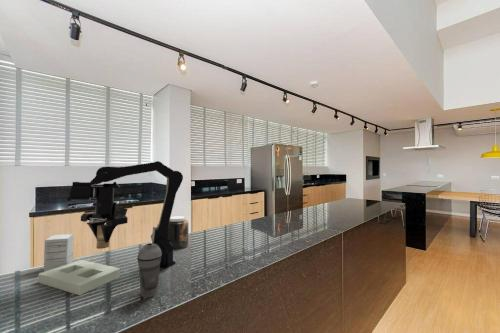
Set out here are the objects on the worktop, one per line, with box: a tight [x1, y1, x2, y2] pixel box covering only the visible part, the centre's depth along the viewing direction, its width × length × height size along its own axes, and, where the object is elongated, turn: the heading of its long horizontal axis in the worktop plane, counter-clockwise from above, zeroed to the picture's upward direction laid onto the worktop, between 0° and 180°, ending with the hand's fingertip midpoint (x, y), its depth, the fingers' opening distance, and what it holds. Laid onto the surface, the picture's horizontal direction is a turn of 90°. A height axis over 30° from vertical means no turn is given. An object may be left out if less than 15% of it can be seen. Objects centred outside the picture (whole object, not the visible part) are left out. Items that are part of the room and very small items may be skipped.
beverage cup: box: [136, 229, 162, 298], centre depth 72 cm, size 7×7×20 cm
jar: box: [168, 215, 189, 251], centre depth 120 cm, size 12×12×15 cm
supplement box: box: [43, 233, 75, 272], centre depth 91 cm, size 7×7×13 cm
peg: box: [96, 225, 110, 250], centre depth 86 cm, size 4×4×8 cm
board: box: [37, 259, 121, 296], centre depth 81 cm, size 22×14×3 cm, turn 68°
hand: (103, 241), depth 86 cm, fingers closed on peg, 4 cm apart
